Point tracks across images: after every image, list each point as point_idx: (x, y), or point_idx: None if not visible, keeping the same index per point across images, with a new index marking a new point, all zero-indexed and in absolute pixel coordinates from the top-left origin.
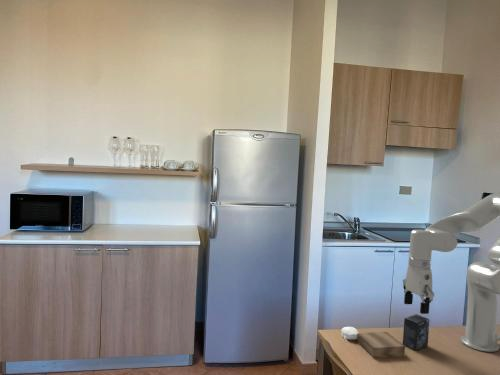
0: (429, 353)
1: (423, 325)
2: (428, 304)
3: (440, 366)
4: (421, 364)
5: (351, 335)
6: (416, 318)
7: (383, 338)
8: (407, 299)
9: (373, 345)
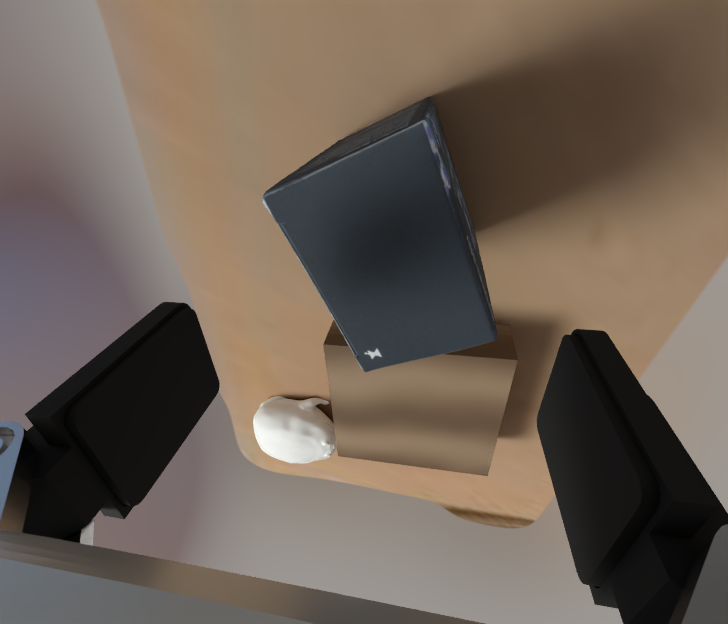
0: (529, 161)
1: (466, 229)
2: (725, 524)
3: (702, 209)
4: (620, 301)
5: (331, 454)
6: (395, 286)
7: (405, 400)
8: (175, 416)
9: (465, 466)
